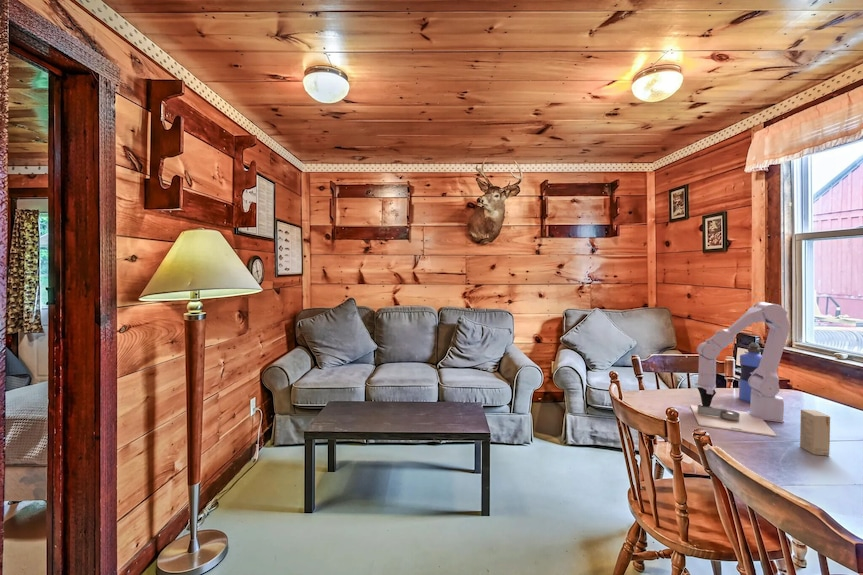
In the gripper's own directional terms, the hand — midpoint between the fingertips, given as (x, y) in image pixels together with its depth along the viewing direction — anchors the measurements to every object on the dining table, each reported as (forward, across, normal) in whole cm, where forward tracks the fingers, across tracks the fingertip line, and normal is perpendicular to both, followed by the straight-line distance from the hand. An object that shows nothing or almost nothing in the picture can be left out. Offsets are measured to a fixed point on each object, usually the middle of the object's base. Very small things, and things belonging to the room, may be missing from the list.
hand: (705, 406), depth 157 cm
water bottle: (+2, -25, +20) cm, 33 cm away
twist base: (+2, +6, +6) cm, 9 cm away
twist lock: (+1, +6, +3) cm, 7 cm away
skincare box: (+2, +25, +24) cm, 35 cm away
